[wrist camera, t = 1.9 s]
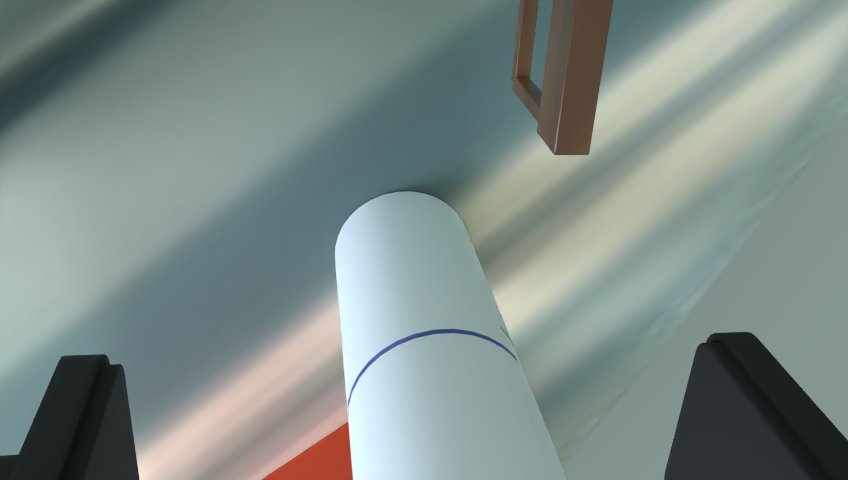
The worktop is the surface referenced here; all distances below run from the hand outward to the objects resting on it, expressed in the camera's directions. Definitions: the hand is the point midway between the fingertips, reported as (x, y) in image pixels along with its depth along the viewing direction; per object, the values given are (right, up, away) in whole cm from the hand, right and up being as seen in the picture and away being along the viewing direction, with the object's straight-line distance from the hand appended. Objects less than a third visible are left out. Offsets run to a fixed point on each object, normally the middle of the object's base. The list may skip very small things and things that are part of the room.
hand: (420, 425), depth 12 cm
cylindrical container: (-1, +2, +31) cm, 31 cm away
